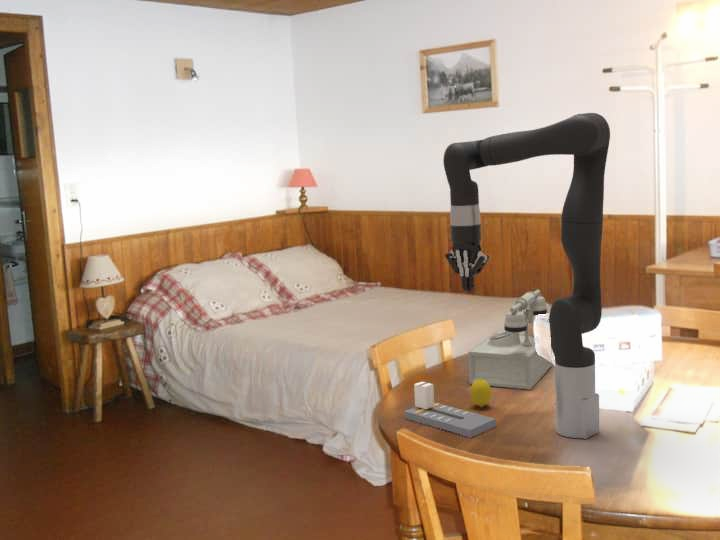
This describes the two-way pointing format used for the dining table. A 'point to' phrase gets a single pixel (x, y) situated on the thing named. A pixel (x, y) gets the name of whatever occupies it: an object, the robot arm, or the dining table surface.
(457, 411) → the console board
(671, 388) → the dining table surface
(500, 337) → the pale grey angular base
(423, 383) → the fader tab
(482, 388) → the lemon
